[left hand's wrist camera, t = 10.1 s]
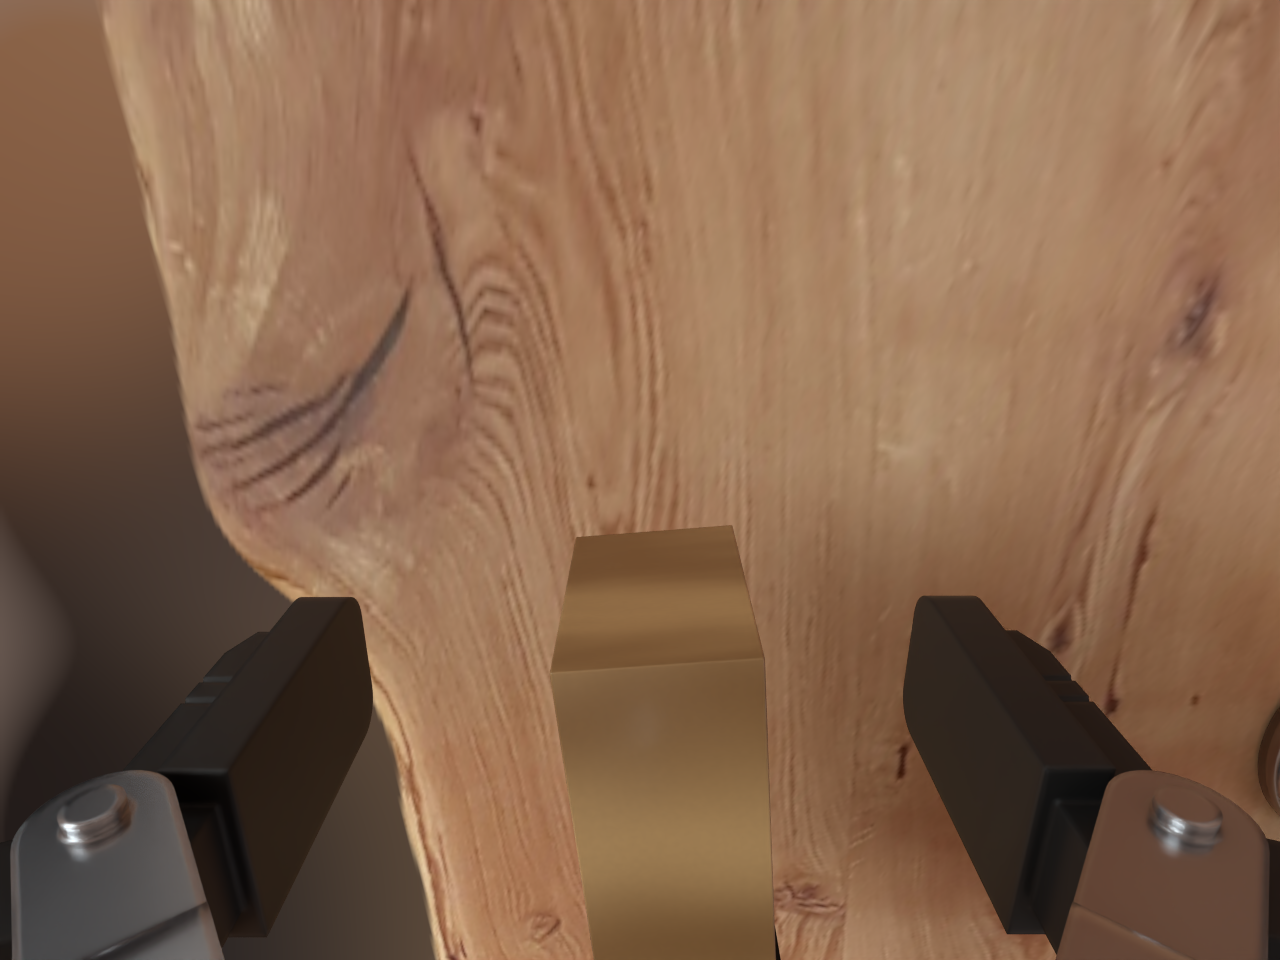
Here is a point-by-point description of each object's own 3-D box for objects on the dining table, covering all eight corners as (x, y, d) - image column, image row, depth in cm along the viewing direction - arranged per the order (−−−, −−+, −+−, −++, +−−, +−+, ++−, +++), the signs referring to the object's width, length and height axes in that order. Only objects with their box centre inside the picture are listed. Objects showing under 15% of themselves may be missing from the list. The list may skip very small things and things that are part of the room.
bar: (575, 536, 30) (549, 673, 22) (732, 524, 30) (764, 658, 22) (629, 949, 38) (625, 1163, 30) (753, 942, 38) (783, 1156, 30)
